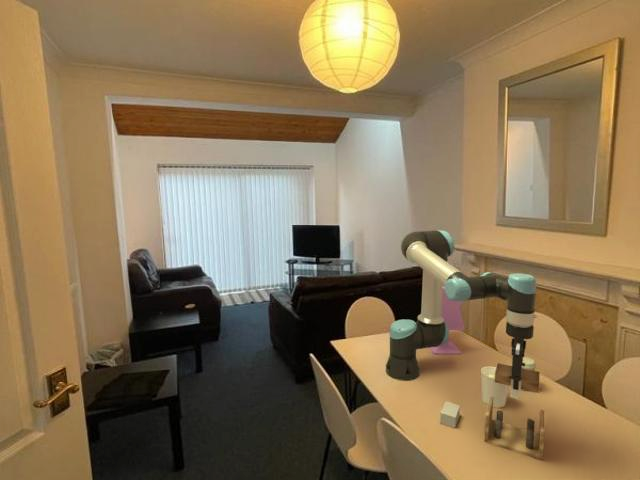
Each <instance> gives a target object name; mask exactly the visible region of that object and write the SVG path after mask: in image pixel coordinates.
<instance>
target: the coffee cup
mask: <svg viewBox="0 0 640 480" xmlns="http://www.w3.org/2000/svg"><path fill="white" fill-rule="evenodd" d="M523 363H525V366H522V367H523V369H528V370H532V371H536V370H535V369H536V367H537V364H536V362H535V360H534V359H532V358H530V357H527V356H524V357H523ZM521 392H530V391H529V390H525V389H521Z"/></svg>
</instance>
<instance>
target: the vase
mask: <svg viewBox="0 0 640 480" xmlns="http://www.w3.org/2000/svg"><path fill="white" fill-rule="evenodd" d="M461 305H462V301H452V300H450V299H449V298H448V297H447V294H446V293H445V287H444V286H443V285H442V302H441V317H442V318H443V319H444V321H445V322H446V324H447V326H448V329H449V331H459V332H463V331H464V332H465V324H464V321H463V316H462V311H461V310H462V309H461ZM429 350H430V352H431V353H432V354H433V355H434V356H435V355H437V356H440V355H442V356H443V355H444V356H445V355H446V356H447V355H450V356H451V355H461V354H462V351H461V350H460V349H459V348H458V347H457V345H455V344H454V342H453V341H452V340H449V339H448V340H447V342H446V343H445V344H444V345H441V346H438V347H430V348H429Z"/></svg>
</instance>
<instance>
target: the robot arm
mask: <svg viewBox="0 0 640 480" xmlns="http://www.w3.org/2000/svg"><path fill="white" fill-rule="evenodd" d="M400 250H401V253H402V255H403V257H404V258H405V259H406V260H407V261H409V262H410V263H413V264H416V265H417V266H418V267H420V268H421V269H422V283H421V284H422V289H421V304H420V305H421V306H420V307H421V309H420V310H421V311H420V314H418V316H417V318H416V319H417V321H416V322H415V320H412V319H398V320H395V321H393V322H392V323H391V324H390V327H389V328H390V329H389V355H388V358H387V362H386V364H385V373H386V374H387V376H389V377H391V378H393V379H395V380H399V381H413V380H415V379H417V378H419V376H420V373H421V372H420V371H421V369H420V366H419V365H420V364H419V362H418V360H417V350H422V349H430V347H438V346H441V345H444V344H445V343H446V342H447V340H448V341H449V337H450V330H449V329H448V326H447V324H446V322H445V321H444V319H443V318H442V317H441V302H442V285H443V286H444V287H445V293H446V294H447V297H448V298H449V299H450V300H452V301H461V302H467V301H475V300H482V299H491V298H493V299H494V298H498V299H500V300H502V301H507V303H506V316H505V318H506V319H505V320H506V323H505V334H506V335H508V336H509V337H512V338H511V344H510V347H511V355H512V360H511V366H512V376H509V378H511V386H510V395H509V396H510V397H509V398H511V399H512V398H513V399H516V400H521V395H522V394H521V393H522V390H521V368H523V367H522V366H525V363H523V357H525V351H526V349H527V347H526V346H527V340H531V339H532V338H533V337H534V331H535V327H534V324H535V323H534V322H535V319H537V315H536V314H535V310H536V309H535V308H536V298H537V297H536V296H537V295H536V294H537V279H536V277H535V276H533V275H531V274H528V273H526V274H525V273H521V272H520V273H511V274H509V275H508V276H504V275H503V274H499V273H496V272H489V271H487V272H484V273H482V274H481V275H479V276H468V275H466V274H465V273H464V272H462V271H460V270H459V269H457V267H454V266H453V265H452V264H450V263H449V262H448V257H450V256H452V255H453V253H454V251H455V242H454V240H453V237H452V236H451V234H450V233H449V232H448V231H446V230H440V229H437V230H435V229H434V230H422V231H420V230H417V231H411V232H410V233H408V234H406V235H405V236H404V238H403V239H402V241H401V244H400Z"/></svg>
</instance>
